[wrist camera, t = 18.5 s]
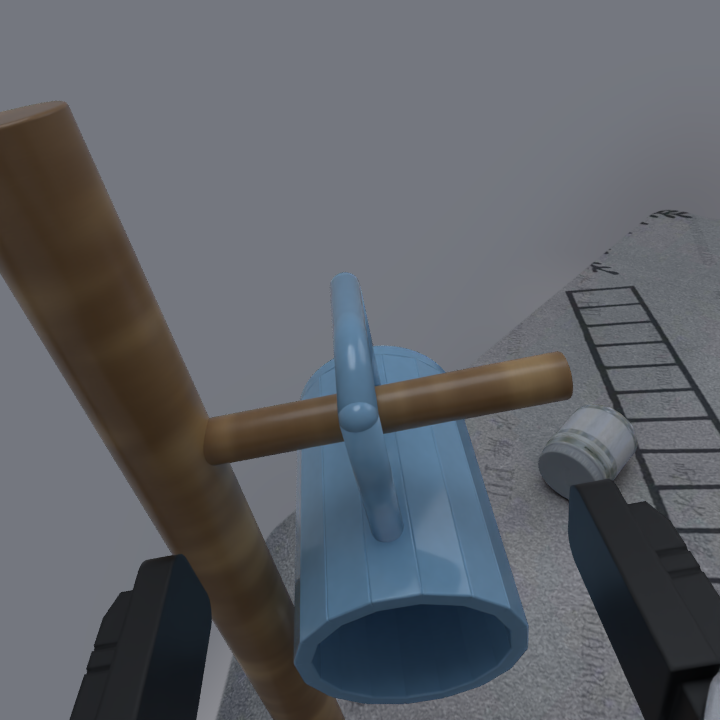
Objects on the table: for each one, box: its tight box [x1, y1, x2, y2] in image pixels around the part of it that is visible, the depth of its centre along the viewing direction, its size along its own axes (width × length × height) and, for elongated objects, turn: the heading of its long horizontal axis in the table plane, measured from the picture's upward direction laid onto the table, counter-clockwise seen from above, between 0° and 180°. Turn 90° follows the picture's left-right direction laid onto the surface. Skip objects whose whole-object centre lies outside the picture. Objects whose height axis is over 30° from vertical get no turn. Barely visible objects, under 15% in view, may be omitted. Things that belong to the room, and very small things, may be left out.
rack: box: [0, 101, 573, 720], centre depth 21 cm, size 14×8×42 cm, turn 94°
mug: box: [294, 272, 529, 704], centre depth 18 cm, size 11×6×10 cm
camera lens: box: [538, 404, 637, 499], centre depth 52 cm, size 6×6×8 cm
